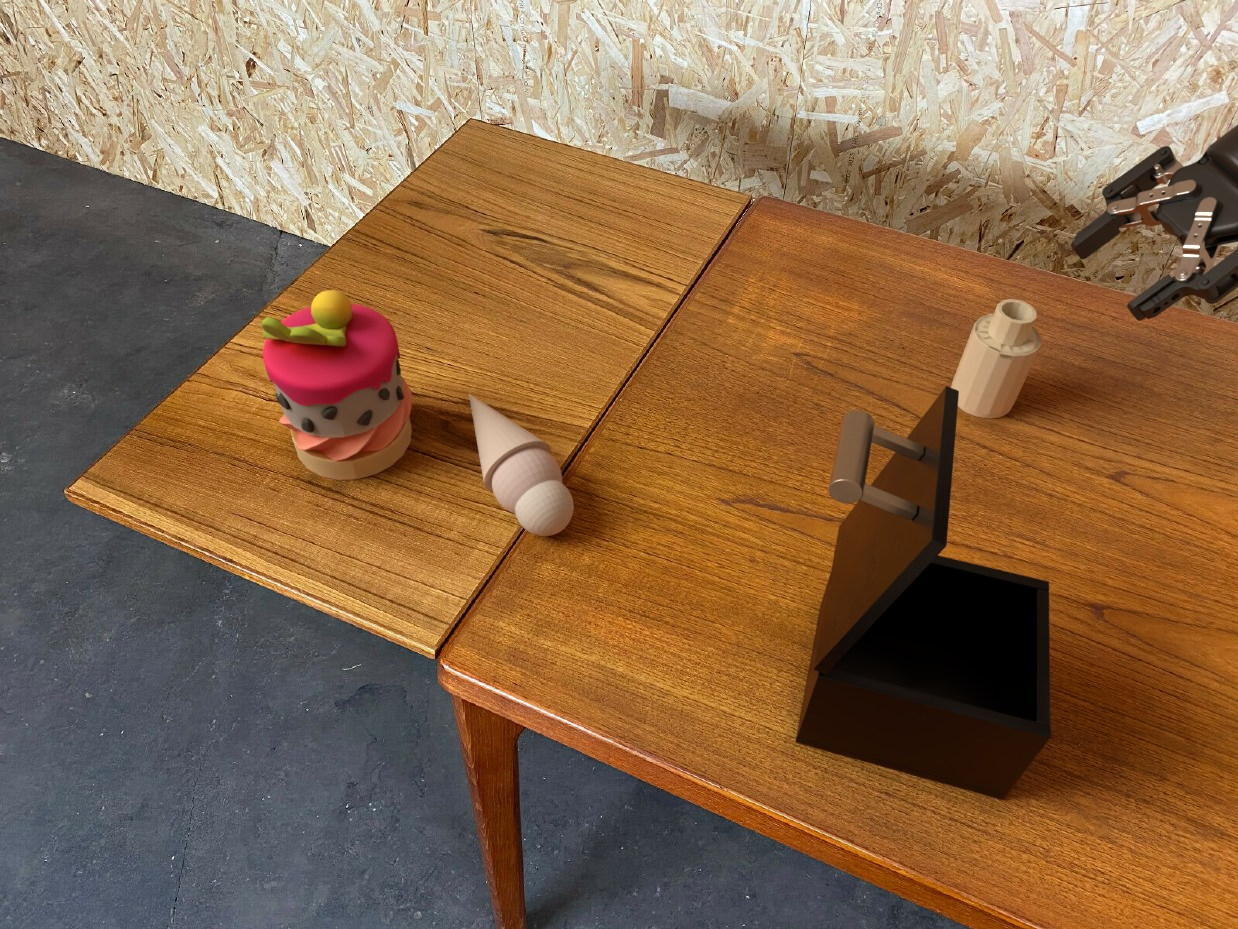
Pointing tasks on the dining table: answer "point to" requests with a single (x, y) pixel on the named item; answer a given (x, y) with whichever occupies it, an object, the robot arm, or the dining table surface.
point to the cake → (339, 386)
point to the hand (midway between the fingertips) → (1103, 282)
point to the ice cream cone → (521, 472)
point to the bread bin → (942, 681)
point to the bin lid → (885, 519)
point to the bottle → (997, 360)
